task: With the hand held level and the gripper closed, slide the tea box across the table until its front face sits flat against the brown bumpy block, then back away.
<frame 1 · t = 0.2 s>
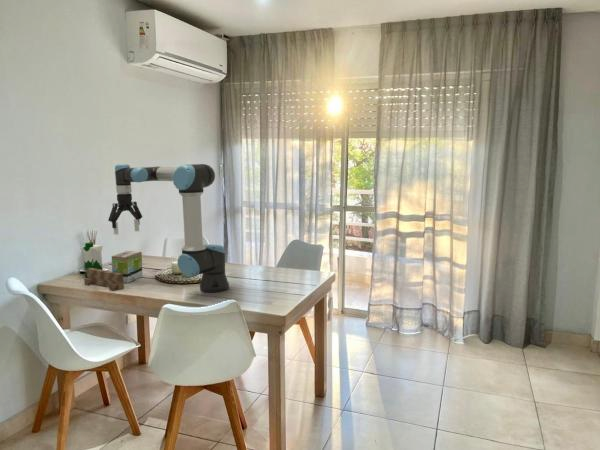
hand: (126, 232, 255), 27 cm above the table, tool pointing down, fingers open, 13 cm apart
tea box: (128, 279, 265), on the table
milk carton: (94, 277, 270), on the table
brown bumpy block: (105, 285, 252), on the table
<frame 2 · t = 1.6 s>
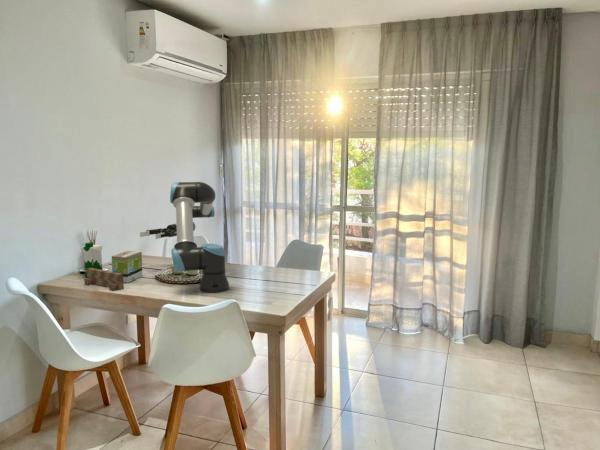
hand: (148, 235, 275), 22 cm above the table, tool horizontal, fingers open, 12 cm apart
nothing on the table moved.
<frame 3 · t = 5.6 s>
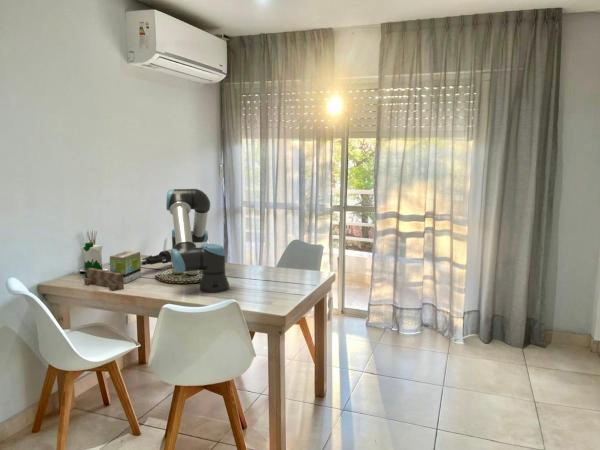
hand: (136, 264, 270), 7 cm above the table, tool horizontal, fingers closed
tea box: (126, 279, 264), on the table, touching gripper
everything else where it was.
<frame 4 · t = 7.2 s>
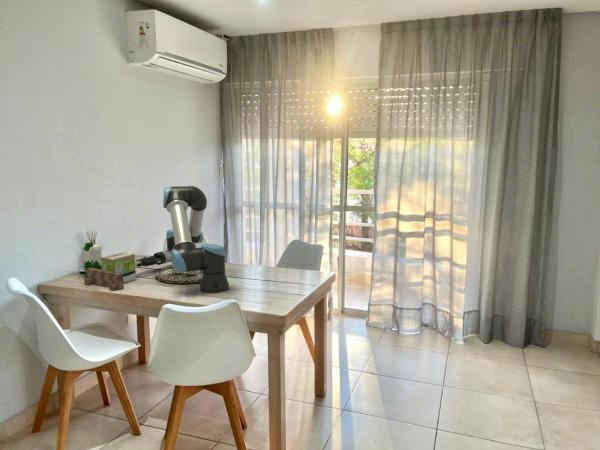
hand: (130, 266, 265), 7 cm above the table, tool horizontal, fingers closed
tea box: (119, 281, 260), on the table, touching gripper, brown bumpy block
everything else where it was.
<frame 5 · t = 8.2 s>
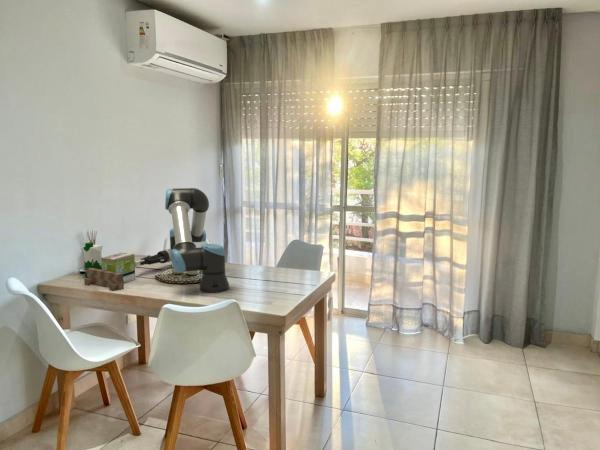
hand: (134, 264, 269), 7 cm above the table, tool horizontal, fingers closed
tea box: (119, 281, 260), on the table
everything else where it was.
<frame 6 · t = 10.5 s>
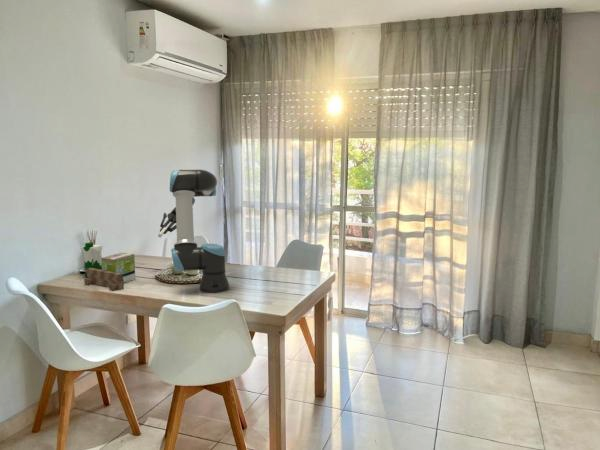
hand: (159, 235, 271), 23 cm above the table, tool tilted 65°, fingers closed
nothing on the table moved.
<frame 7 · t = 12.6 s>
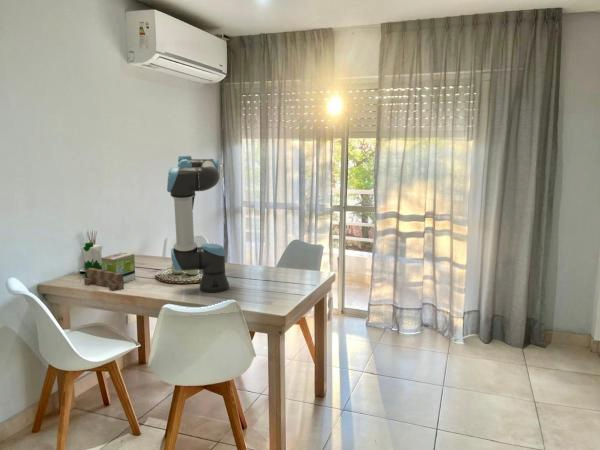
hand: (187, 222, 277), 29 cm above the table, tool pointing down, fingers closed
nothing on the table moved.
at the end: tea box inside the target area on the table beside the brown bumpy block (0.4 cm from its centre), on the table; tea box tilted 0°; tea box moved 5.7 cm from its start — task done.
